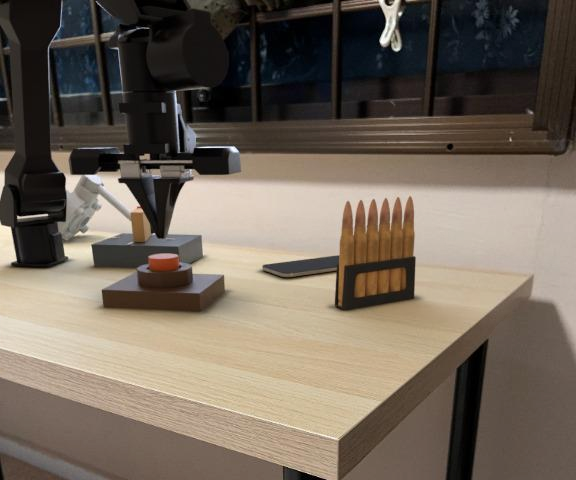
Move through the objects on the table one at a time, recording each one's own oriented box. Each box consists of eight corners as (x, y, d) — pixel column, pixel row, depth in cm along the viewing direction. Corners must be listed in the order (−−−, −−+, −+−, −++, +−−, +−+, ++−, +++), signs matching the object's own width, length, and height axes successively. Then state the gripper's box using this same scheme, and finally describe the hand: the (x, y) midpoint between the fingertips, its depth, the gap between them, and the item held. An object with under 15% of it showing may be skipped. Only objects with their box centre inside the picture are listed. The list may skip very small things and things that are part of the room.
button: (144, 273, 73) (143, 258, 72) (156, 267, 76) (154, 253, 75) (173, 274, 72) (172, 259, 71) (183, 267, 75) (182, 253, 75)
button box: (103, 307, 72) (99, 274, 70) (138, 288, 81) (135, 258, 80) (200, 312, 70) (198, 277, 68) (225, 291, 79) (223, 260, 77)
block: (145, 242, 94) (142, 210, 92) (133, 242, 94) (130, 210, 92) (151, 235, 100) (148, 205, 98) (140, 235, 100) (137, 205, 98)
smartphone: (369, 262, 92) (285, 273, 84) (369, 266, 92) (285, 278, 85) (340, 254, 98) (259, 264, 90) (340, 259, 98) (259, 269, 90)
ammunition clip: (343, 310, 70) (345, 202, 65) (334, 306, 72) (336, 200, 67) (414, 297, 75) (421, 196, 70) (404, 294, 76) (411, 195, 72)
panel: (94, 267, 94) (90, 243, 93) (124, 254, 104) (122, 232, 103) (180, 269, 92) (178, 245, 90) (203, 256, 102) (201, 233, 100)
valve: (110, 293, 117) (148, 236, 110) (28, 224, 115) (61, 160, 108) (136, 278, 126) (173, 224, 118) (60, 213, 124) (93, 153, 116)
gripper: (250, 95, 72) (254, 229, 78) (104, 98, 76) (119, 227, 82) (223, 89, 62) (230, 244, 68) (56, 93, 65) (77, 241, 71)
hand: (162, 238), depth 73 cm, fingers closed
